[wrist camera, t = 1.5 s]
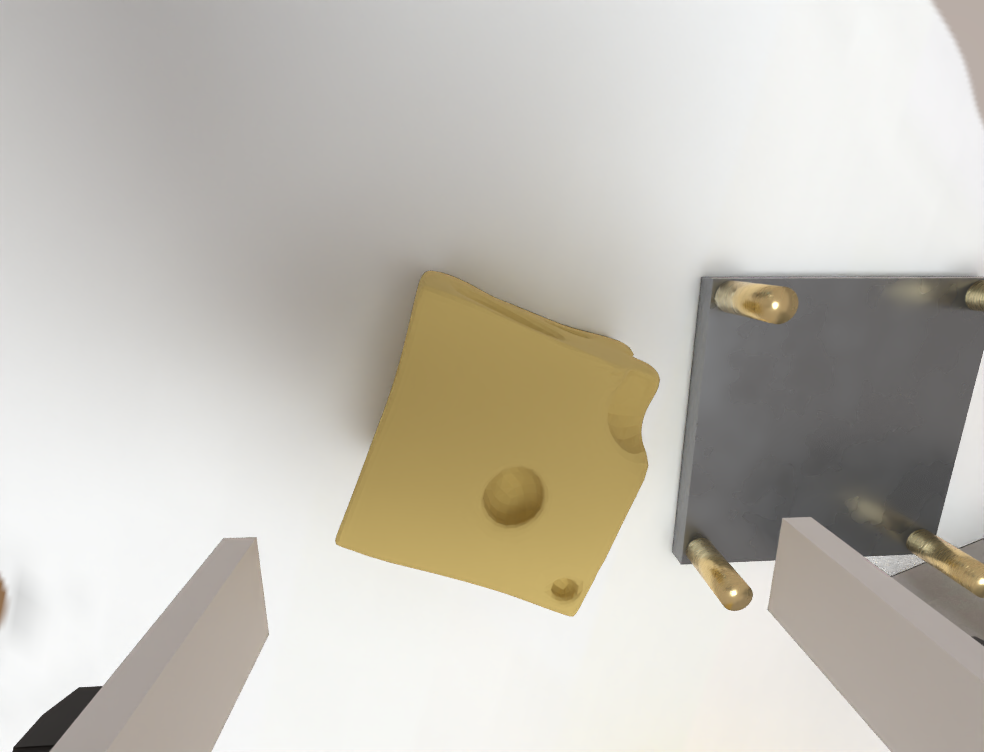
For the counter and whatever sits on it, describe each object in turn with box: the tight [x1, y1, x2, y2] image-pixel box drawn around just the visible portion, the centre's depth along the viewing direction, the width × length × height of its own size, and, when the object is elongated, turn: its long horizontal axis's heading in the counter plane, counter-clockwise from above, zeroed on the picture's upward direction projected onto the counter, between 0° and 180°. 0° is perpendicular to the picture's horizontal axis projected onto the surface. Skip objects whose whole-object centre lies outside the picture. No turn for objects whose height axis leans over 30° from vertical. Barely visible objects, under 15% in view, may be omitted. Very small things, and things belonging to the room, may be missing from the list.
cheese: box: [335, 271, 660, 616], centre depth 22 cm, size 10×11×10 cm
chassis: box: [673, 277, 984, 611], centre depth 26 cm, size 16×16×5 cm
